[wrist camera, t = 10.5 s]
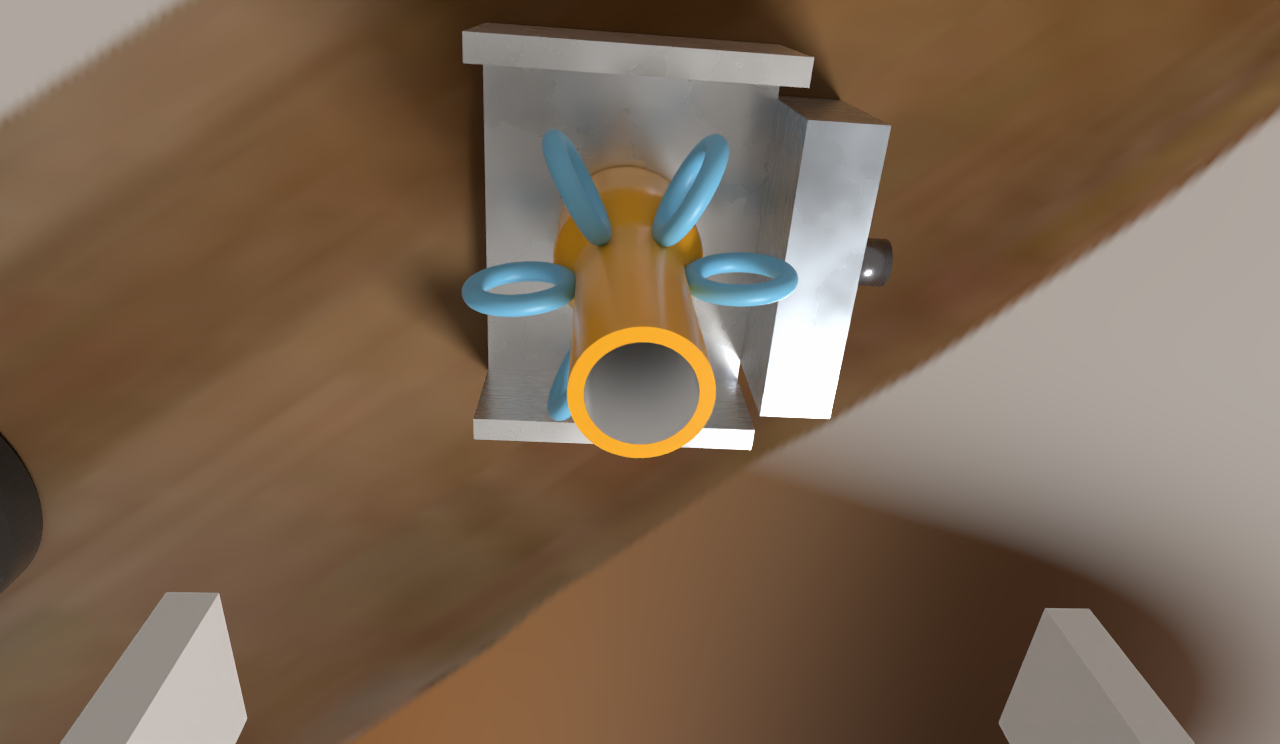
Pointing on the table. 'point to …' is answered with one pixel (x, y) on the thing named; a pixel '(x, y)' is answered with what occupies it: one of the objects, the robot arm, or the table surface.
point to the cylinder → (632, 297)
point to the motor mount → (732, 222)
